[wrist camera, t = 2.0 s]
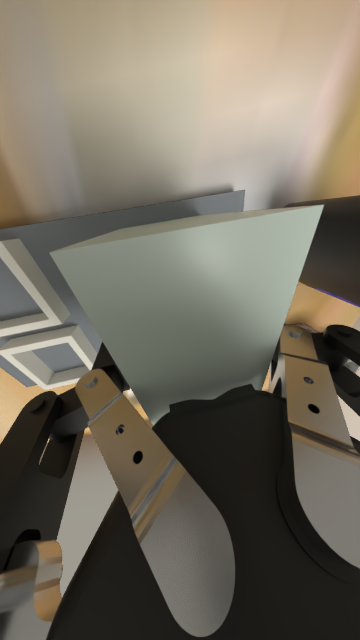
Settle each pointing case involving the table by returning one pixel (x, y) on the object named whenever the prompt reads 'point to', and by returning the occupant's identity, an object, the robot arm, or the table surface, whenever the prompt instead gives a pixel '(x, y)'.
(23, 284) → the board
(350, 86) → the table surface
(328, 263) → the leaning round-cornered charcoal block
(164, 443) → the robot arm
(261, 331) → the block
